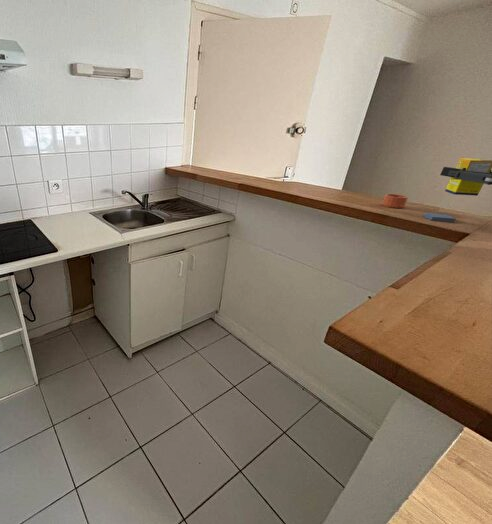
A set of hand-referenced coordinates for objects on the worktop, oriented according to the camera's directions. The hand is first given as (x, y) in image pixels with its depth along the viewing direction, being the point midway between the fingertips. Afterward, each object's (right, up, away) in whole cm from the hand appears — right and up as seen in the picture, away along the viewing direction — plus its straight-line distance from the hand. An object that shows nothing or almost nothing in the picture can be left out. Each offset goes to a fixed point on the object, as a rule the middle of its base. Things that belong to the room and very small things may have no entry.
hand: (455, 171), depth 95 cm
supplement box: (0, -8, -1) cm, 8 cm away
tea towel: (-8, -17, -2) cm, 19 cm away
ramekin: (-10, -10, +12) cm, 19 cm away
